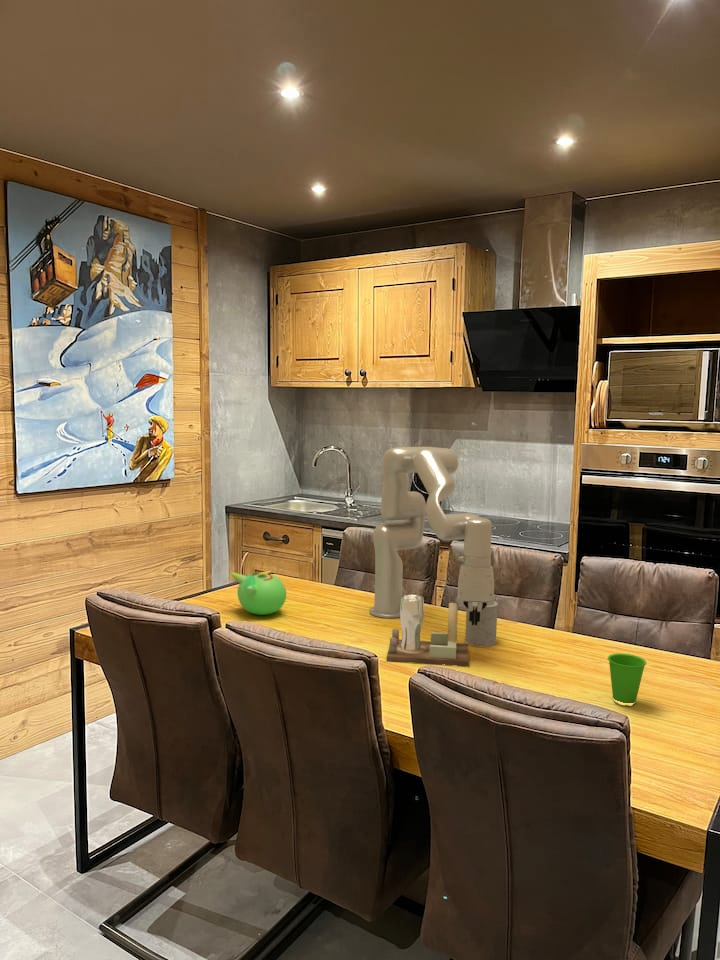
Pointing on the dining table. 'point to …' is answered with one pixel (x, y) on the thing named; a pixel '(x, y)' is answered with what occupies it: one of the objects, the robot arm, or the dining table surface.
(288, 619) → the dining table surface
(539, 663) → the dining table surface
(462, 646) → the board
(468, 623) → the grey stone cylinder
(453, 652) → the grey angular piece
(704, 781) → the dining table surface
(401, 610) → the beer glass
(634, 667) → the cup
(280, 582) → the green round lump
